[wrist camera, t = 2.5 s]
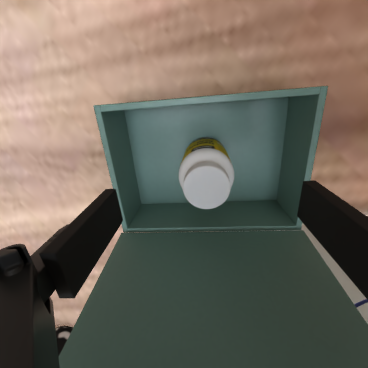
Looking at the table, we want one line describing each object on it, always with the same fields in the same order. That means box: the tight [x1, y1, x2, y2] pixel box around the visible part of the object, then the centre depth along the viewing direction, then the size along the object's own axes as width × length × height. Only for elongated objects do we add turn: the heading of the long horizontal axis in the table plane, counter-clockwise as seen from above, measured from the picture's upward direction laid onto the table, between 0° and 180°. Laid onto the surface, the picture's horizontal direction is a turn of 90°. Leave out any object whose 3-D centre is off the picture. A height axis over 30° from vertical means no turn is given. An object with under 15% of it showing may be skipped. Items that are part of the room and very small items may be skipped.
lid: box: [59, 230, 368, 368], centre depth 15 cm, size 15×20×1 cm
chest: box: [94, 86, 328, 233], centre depth 23 cm, size 14×20×7 cm
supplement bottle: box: [179, 137, 234, 209], centre depth 21 cm, size 5×5×10 cm
